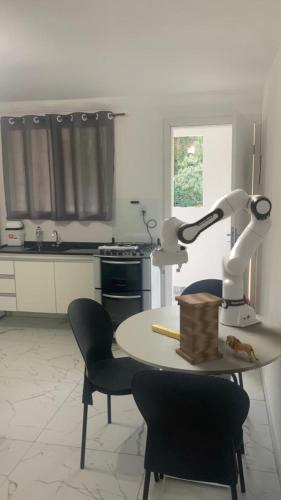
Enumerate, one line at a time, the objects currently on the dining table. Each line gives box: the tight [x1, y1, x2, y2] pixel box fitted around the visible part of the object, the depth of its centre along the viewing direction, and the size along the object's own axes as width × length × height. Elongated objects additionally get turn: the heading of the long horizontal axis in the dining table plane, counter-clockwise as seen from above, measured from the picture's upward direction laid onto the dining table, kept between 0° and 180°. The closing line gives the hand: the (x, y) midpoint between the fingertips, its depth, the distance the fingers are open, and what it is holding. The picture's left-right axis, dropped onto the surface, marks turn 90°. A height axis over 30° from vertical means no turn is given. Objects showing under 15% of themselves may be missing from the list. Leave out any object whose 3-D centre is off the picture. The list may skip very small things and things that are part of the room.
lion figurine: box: [225, 334, 260, 363], centre depth 170 cm, size 15×5×9 cm, turn 56°
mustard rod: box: [151, 323, 180, 341], centre depth 198 cm, size 3×24×3 cm, turn 43°
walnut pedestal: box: [174, 291, 224, 365], centre depth 172 cm, size 16×14×26 cm
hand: (170, 273), depth 211 cm, fingers open, 8 cm apart
